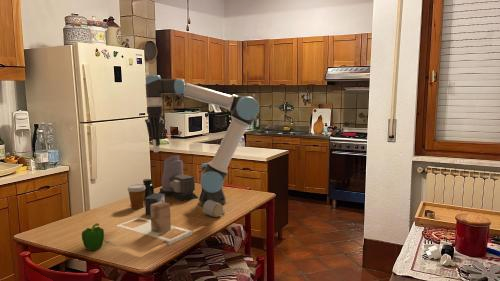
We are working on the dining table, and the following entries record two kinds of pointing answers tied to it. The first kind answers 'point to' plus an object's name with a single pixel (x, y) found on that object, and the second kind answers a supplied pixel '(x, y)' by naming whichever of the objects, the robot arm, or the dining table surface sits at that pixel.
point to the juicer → (177, 181)
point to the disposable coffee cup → (137, 195)
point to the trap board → (147, 230)
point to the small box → (153, 201)
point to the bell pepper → (93, 237)
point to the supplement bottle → (148, 187)
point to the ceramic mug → (213, 208)
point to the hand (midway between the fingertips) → (156, 151)
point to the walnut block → (160, 217)
